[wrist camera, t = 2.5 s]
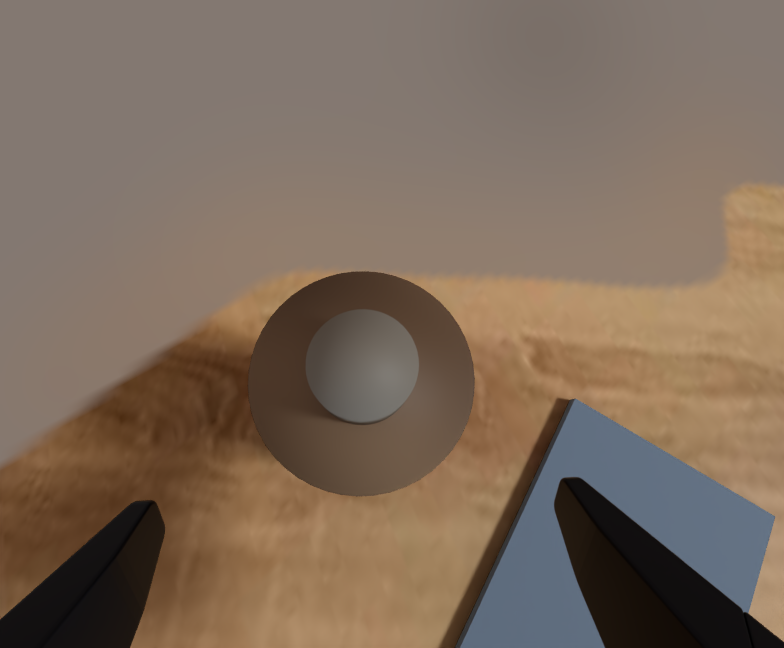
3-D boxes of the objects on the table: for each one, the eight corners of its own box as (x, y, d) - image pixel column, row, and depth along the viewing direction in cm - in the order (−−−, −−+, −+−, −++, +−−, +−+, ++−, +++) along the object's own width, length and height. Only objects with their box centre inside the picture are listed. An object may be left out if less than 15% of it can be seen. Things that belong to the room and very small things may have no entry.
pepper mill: (380, 491, 19) (408, 563, 6) (295, 436, 19) (172, 405, 7) (431, 402, 20) (533, 324, 8) (350, 352, 20) (327, 205, 8)
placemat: (680, 810, 16) (690, 821, 15) (452, 653, 17) (454, 659, 16) (765, 515, 19) (775, 516, 19) (570, 399, 20) (575, 398, 20)
